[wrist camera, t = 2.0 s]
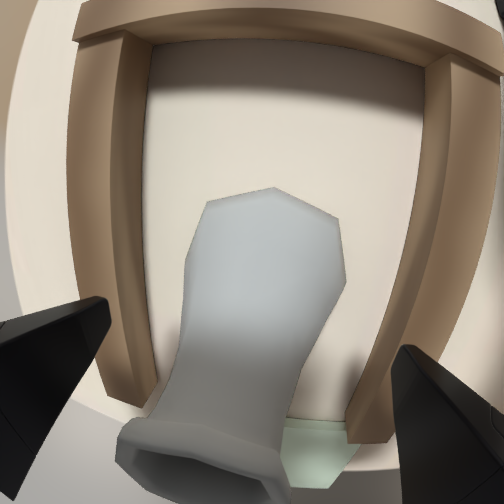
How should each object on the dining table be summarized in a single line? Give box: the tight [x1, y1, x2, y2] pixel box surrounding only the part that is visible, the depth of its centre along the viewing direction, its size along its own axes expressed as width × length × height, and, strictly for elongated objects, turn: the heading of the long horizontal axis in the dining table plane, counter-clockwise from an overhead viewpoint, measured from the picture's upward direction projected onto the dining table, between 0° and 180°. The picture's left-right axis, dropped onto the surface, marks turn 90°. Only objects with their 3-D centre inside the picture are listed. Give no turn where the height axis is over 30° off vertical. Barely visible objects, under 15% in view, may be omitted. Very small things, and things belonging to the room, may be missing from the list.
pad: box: [280, 418, 361, 488], centre depth 17 cm, size 10×10×1 cm
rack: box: [66, 0, 504, 444], centre depth 11 cm, size 17×21×3 cm
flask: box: [115, 187, 346, 504], centre depth 8 cm, size 7×7×10 cm
